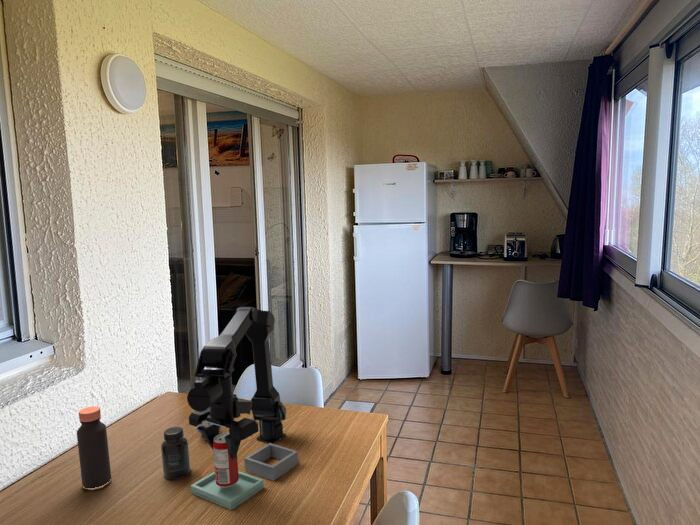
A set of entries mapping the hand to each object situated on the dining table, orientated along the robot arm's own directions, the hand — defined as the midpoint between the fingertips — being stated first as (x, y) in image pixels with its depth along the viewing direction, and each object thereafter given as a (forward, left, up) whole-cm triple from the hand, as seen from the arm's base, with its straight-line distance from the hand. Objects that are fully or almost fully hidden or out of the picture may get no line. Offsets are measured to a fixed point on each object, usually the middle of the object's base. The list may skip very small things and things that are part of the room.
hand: (225, 455), depth 130 cm
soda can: (0, 0, -7) cm, 7 cm away
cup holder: (+2, +14, -9) cm, 17 cm away
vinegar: (-32, -15, -9) cm, 37 cm away
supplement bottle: (-18, -1, -9) cm, 20 cm away
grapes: (-29, +19, -9) cm, 36 cm away
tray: (0, 0, -9) cm, 9 cm away
